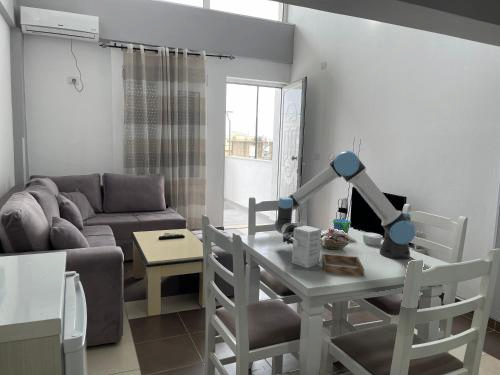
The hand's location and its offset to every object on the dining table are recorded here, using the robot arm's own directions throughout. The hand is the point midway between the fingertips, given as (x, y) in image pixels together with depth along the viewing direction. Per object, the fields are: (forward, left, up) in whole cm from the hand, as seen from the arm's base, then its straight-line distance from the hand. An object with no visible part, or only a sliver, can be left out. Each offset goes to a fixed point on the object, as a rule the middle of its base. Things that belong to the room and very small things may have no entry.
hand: (310, 243), depth 171 cm
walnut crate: (-15, -4, -12) cm, 19 cm away
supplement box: (+1, -3, -11) cm, 11 cm away
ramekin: (-38, -54, -12) cm, 67 cm away
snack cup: (-21, -64, -12) cm, 68 cm away
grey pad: (+1, -3, -12) cm, 12 cm away
